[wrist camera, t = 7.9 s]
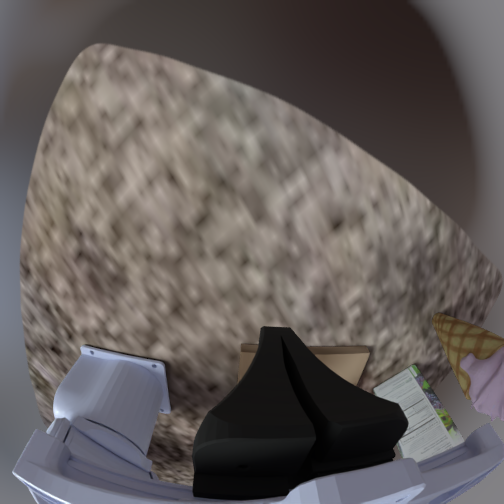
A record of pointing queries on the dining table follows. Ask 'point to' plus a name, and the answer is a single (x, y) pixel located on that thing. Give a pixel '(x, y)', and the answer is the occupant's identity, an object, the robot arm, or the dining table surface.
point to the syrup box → (420, 416)
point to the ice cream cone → (474, 362)
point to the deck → (336, 358)
